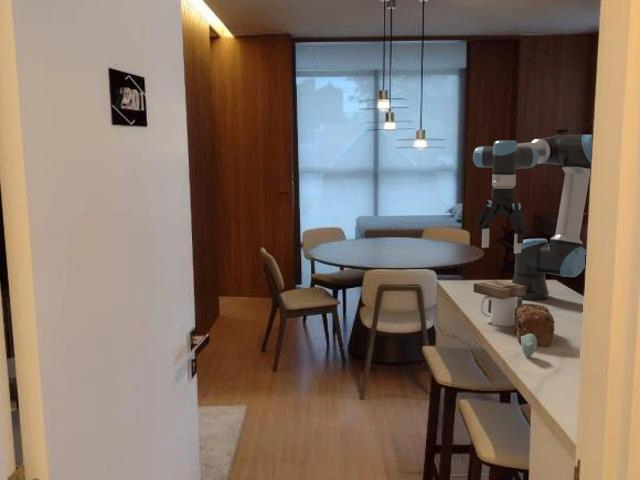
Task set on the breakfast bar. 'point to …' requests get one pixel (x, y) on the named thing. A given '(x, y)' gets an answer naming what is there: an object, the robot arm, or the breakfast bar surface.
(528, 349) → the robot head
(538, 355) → the breakfast bar surface
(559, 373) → the breakfast bar surface
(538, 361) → the breakfast bar surface
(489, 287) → the lid
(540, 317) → the bread
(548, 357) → the breakfast bar surface
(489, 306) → the block
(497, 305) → the cup
